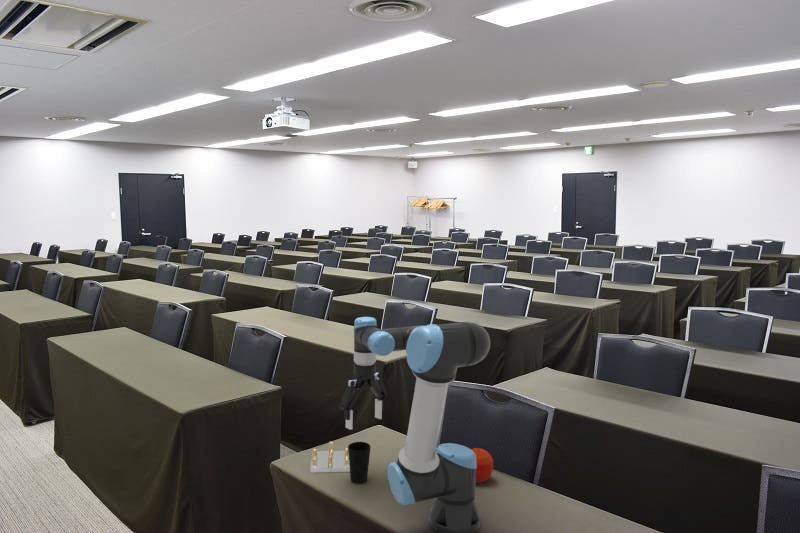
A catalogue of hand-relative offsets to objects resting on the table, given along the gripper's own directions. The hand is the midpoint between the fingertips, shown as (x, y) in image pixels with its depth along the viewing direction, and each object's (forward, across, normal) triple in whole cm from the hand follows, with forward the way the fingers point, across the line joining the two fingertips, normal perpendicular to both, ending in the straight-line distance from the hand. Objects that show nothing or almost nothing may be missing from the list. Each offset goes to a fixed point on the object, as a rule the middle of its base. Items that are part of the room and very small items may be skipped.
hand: (364, 423), depth 193 cm
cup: (+20, +3, +1) cm, 20 cm away
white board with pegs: (+19, +2, -16) cm, 25 cm away
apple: (+20, -27, +29) cm, 44 cm away
